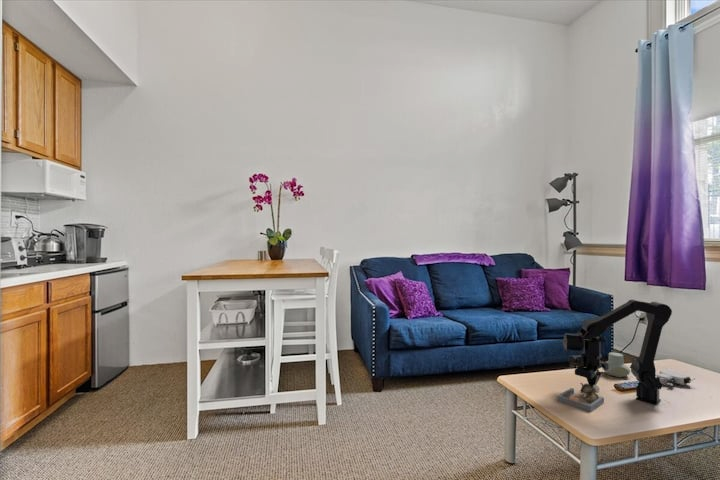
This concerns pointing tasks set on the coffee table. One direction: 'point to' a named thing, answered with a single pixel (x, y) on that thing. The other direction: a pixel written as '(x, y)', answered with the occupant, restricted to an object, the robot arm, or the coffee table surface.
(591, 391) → the eagle figurine
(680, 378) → the robot toy
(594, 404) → the pocket
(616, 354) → the air freshener
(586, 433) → the coffee table surface
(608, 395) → the coffee table surface
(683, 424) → the coffee table surface
